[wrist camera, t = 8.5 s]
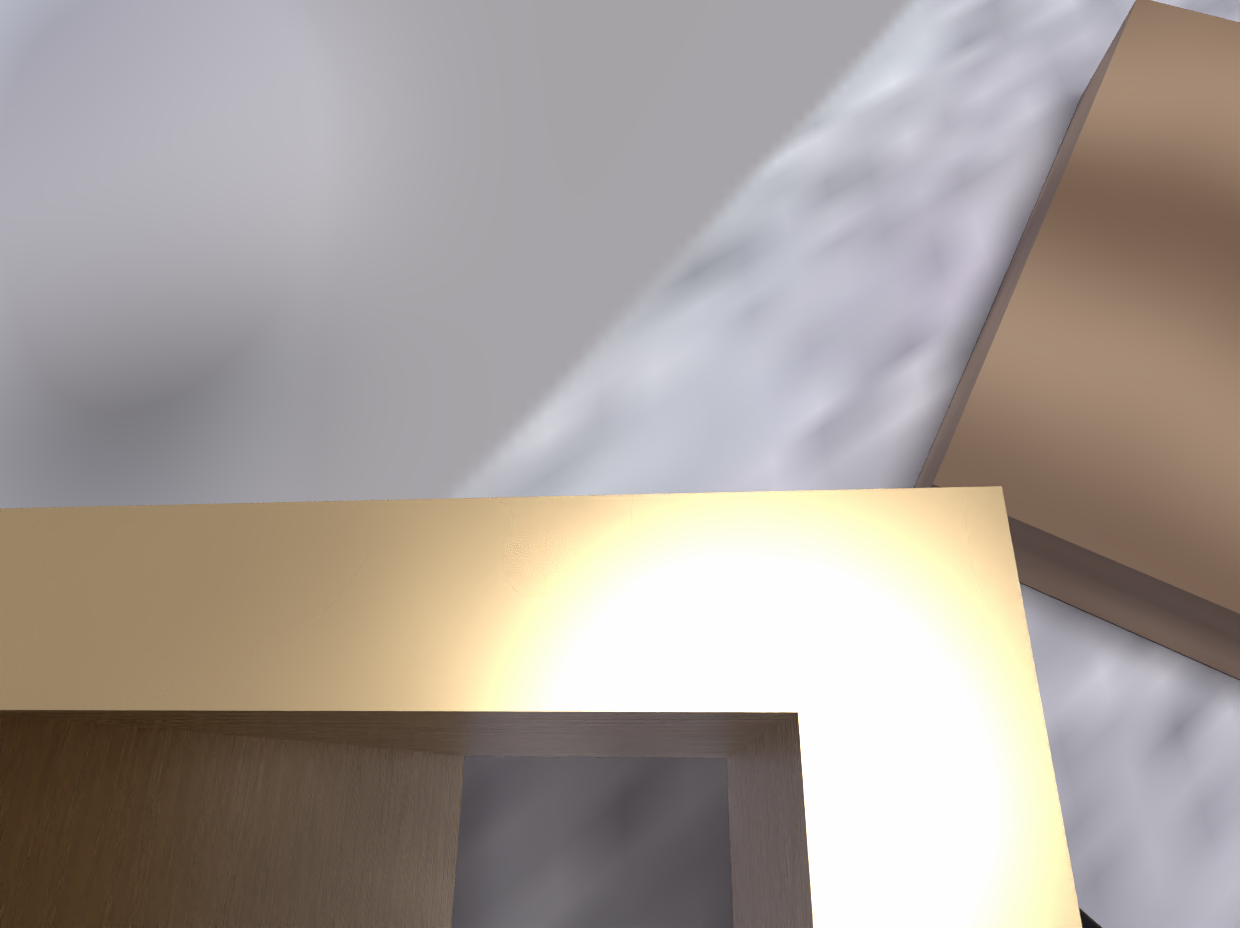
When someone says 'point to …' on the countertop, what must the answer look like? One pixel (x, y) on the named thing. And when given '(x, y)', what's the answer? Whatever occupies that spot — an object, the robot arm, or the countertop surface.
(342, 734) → the collar
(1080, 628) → the countertop surface
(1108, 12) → the countertop surface
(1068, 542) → the post stand
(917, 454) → the countertop surface
